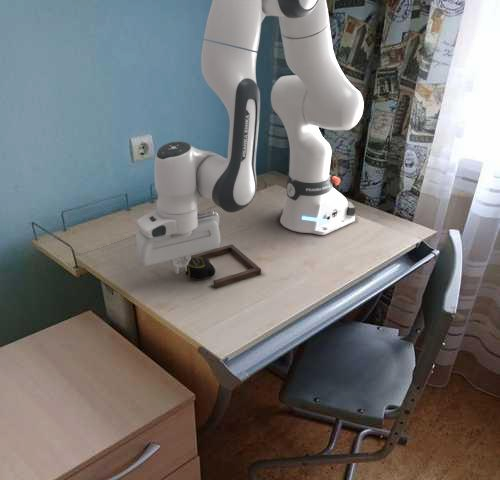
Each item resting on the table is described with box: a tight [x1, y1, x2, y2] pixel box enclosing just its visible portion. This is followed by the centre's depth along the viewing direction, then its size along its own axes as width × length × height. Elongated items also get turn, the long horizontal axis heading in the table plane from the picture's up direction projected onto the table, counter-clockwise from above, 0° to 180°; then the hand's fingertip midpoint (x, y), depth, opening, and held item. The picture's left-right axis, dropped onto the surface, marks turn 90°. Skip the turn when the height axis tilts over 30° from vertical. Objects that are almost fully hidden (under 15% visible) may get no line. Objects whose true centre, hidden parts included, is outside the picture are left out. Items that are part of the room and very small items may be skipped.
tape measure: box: [184, 255, 216, 281], centre depth 125 cm, size 7×7×4 cm
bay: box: [191, 243, 262, 289], centre depth 129 cm, size 13×14×2 cm
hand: (180, 271), depth 123 cm, fingers closed
